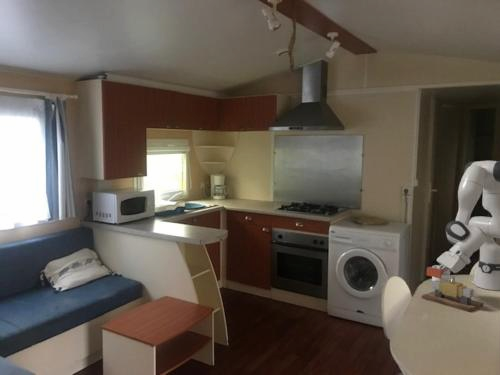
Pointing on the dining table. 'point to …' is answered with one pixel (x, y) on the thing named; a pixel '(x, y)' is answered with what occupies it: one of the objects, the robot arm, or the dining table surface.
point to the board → (452, 302)
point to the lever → (439, 274)
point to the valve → (453, 290)
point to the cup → (443, 273)
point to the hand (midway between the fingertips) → (438, 272)
